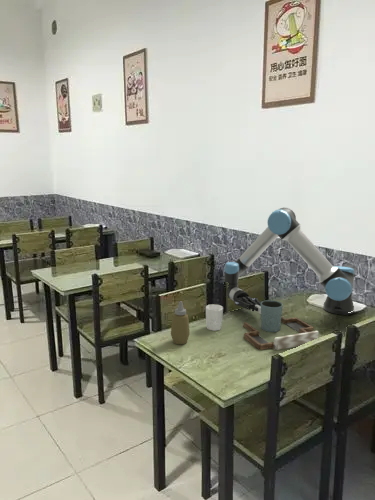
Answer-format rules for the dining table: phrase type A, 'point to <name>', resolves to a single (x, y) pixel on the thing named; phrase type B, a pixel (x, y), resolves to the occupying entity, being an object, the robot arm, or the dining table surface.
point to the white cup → (214, 317)
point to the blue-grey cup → (271, 315)
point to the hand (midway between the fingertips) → (263, 311)
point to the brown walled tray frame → (283, 341)
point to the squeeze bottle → (180, 325)
